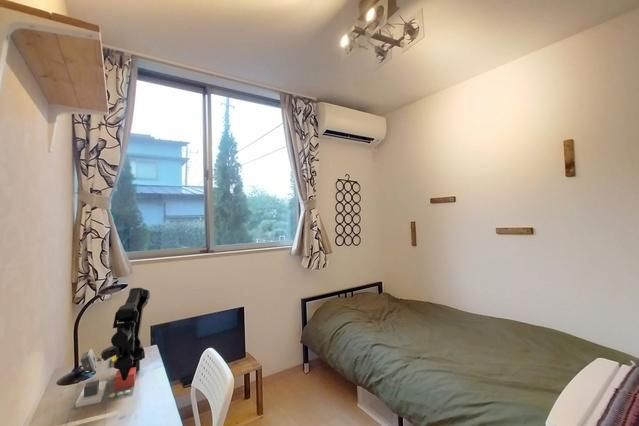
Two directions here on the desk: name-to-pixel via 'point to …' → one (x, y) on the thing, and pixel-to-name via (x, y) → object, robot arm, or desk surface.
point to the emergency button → (113, 360)
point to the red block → (129, 381)
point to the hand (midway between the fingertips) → (125, 375)
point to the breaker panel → (109, 391)
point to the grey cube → (91, 388)
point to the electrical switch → (89, 361)
